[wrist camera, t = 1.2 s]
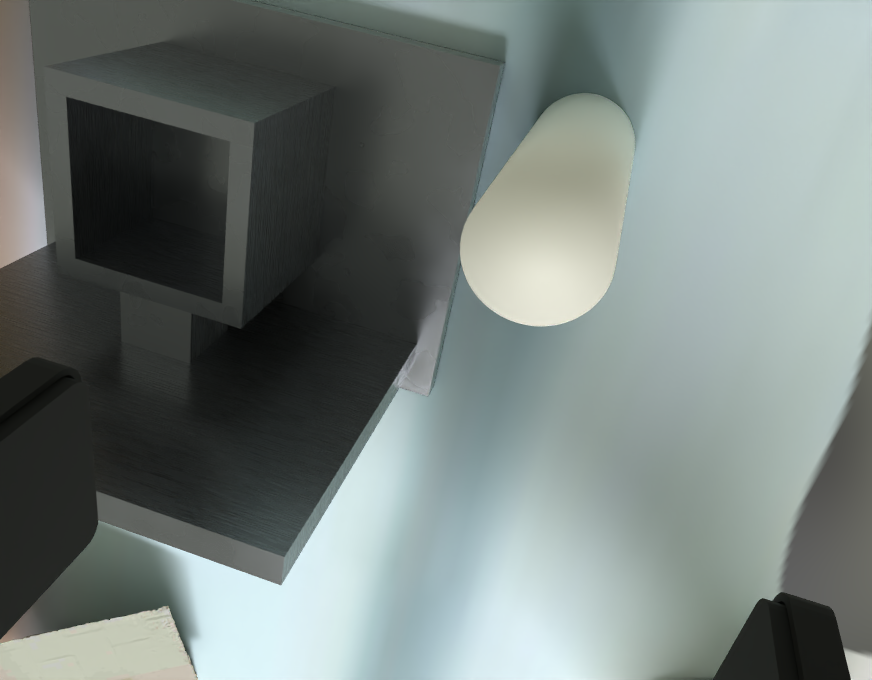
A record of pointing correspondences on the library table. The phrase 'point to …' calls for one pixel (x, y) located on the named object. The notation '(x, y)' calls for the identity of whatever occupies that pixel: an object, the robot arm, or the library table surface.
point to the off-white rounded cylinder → (553, 215)
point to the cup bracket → (241, 252)
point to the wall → (102, 651)
